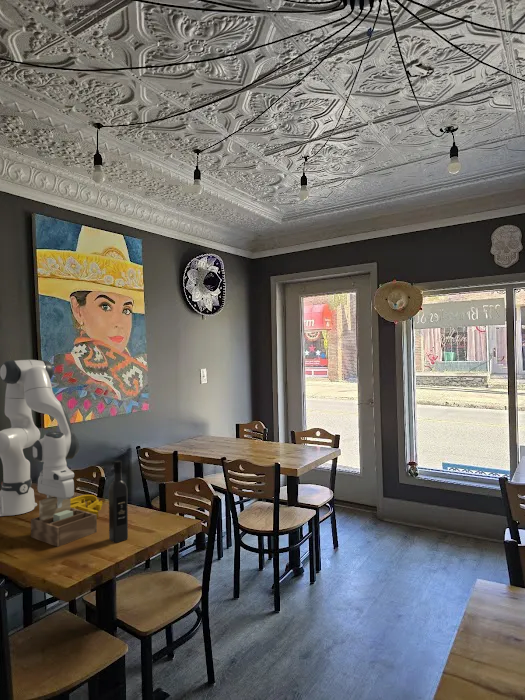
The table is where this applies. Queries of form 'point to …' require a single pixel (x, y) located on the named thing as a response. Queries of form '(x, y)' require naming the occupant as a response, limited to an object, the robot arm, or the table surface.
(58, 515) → the offcut short
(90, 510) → the decorative art
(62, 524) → the box
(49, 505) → the plywood sheet
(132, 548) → the table surface
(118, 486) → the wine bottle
